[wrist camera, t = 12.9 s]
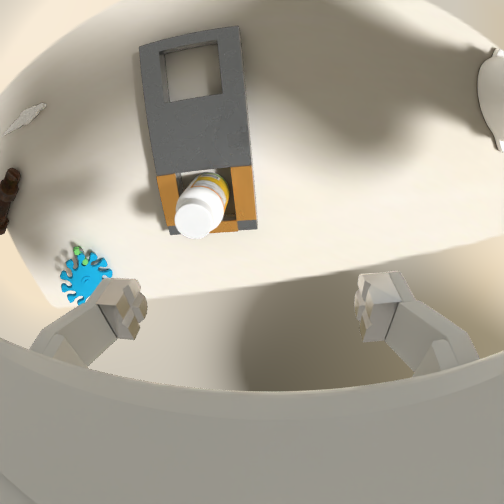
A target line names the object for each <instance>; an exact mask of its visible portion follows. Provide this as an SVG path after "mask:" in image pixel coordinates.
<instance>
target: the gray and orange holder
mask: <svg viewBox="0 0 504 504" xmlns="http://www.w3.org/2000/svg"><path fill="white" fill-rule="evenodd" d="M216 43H218V52H219V62H220V72H221V82H222V92H223V94H217V95H209V96H203V97H197V98H191V99H185V100H180V101H175V102H170V100H169V92H168V84H167V74H166V65H165V54H166V53H170V52H174V51H178V50H183V49H188V48H193V47H198V46H204V45H209V44H216ZM139 52H140V63H141V74H142V83H143V91H144V99H145V107H146V114H147V121H148V128H149V134H150V140H151V146H152V152H153V157H154V163H155V168H156V173H157V177H156V178H157V183H158V188H159V192H160V197H161V202H162V206H163V211H164V215H165V219H166V223H167V226H168V228H169V232H170V235H177V234H181V233H180V232H179V231H178V230H177V228H176V225H175V214H176V204H177V201H178V199H179V197H180V196H181V194H182V193H183V192H184V191H183V185H182V180H181V174H180V173H182V172H190V171H198V170H207V169H216V168H226V167H231V176H232V185H233V194H234V202H235V210H236V214H227V215H223V218H222V220H221V222H220V224H219V225H218V226H217V227H216V228H215V229H214V230H212V231H210V232H209V233H220V232H235V231H238V230H251V229H257V226H258V221H257V209H256V197H255V186H254V174H253V163H252V152H251V141H250V130H249V119H248V108H247V98H246V87H245V77H244V66H243V56H242V46H241V37H240V29H239V26H233V27H225V28H218V29H211V30H205V31H200V32H195V33H190V34H185V35H180V36H176V37H172V38H168V39H164V40H160V41H157V42H153V43H150V44H146V45H143V46H140V47H139Z"/></svg>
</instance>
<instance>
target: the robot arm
mask: <svg viewBox="0 0 504 504" xmlns="http://www.w3.org/2000/svg"><path fill="white" fill-rule="evenodd" d="M478 97H479V103H480V107H481V111H482V114H483V116H484V119H485V121H486V123H487V125H488V127H489V128H490V130H491V131H492V133H493V135H494V137H495V141H496V144H497V147H498V150H499V151H500V152H504V51H503V50H501V49H495V51H494V53H493V55H492V57H491V58H489V59H487V60H486V61H485V62H484V63H483V64H482V66H481V68H480V70H479V74H478ZM358 287H359V290H358V291H357V292H356V294H355V300H354V309H355V315H356V318H357V319H358V320H359V321H360V325H359V330H360V334H361V338H362V342H371V341H383V340H385V342H386V343H387V344H388V345H389V346H390V347H391V348H392V349H393V350H394V352H396V354H397V355H398V356H400V358H401V359H402V360H403V361H404V362H405V363H406V364H407V365H408V366H409V367H410V368H411V369H412V370H413V371H414V372H415V373H414V374H413V376H412V377H411V378H407V379H402V380H396V381H391V382H385V383H378V384H372V385H364V386H356V387H347V388H337V389H326V390H312V391H285V392H254V391H253V392H251V391H228V390H227V391H226V390H213V389H201V388H192V387H183V386H175V385H167V384H161V383H154V382H148V381H142V380H136V379H132V378H127V377H122V376H117V375H113V374H108V373H104V372H100V371H96V370H92V369H89V368H88V366H89V365H90V364H91V363H92V362H93V361H94V360H95V359H96V358H97V357H99V356H100V355H101V354H102V353H103V352H104V351H105V350H106V349H107V348H108V347H109V346H110V345H112V344H113V343H114V342H115V341H116V340H117V338H120V339H130V340H135V338H136V335H137V333H138V331H139V329H140V325H139V323H140V322H141V321H142V320H144V319H145V317H146V314H147V301H146V298H145V296H144V295H143V294H142V293H141V292H140V289H141V286H140V284H139V282H138V280H136V279H125V278H105V279H102V281H101V282H100V283H99V285H98V286H97V287H96V289H95V290H94V292H93V293H92V294H91V296H90V297H89V299H88V300H87V301H86V303H82V304H80V305H79V306H77V307H76V308H74V309H73V310H71V311H69V312H68V313H66V314H65V315H63V316H62V317H60V318H59V319H57V320H56V321H54V322H53V323H51V324H50V325H48V326H47V327H45V328H44V329H42V331H41V332H40V333H39V335H38V336H37V338H36V339H35V341H34V343H33V344H32V346H31V347H30V349H26V348H24V347H21V346H19V345H16V344H14V343H11V342H9V341H7V340H4V339H2V338H0V504H504V351H501V352H499V353H496V354H493V355H491V356H488V357H485V358H482V359H480V358H479V356H478V354H477V352H476V349H475V347H474V345H473V343H472V341H471V339H470V337H469V335H468V334H467V332H465V331H464V330H463V329H461V328H460V327H458V326H457V325H455V324H454V323H453V322H451V321H450V320H448V319H447V318H445V317H444V316H442V315H441V314H439V313H438V312H436V311H435V310H434V309H432V308H431V307H429V306H428V305H426V304H425V303H423V302H422V301H420V300H417V301H416V299H415V297H414V296H413V294H412V292H411V290H410V288H409V286H408V284H407V283H406V281H405V279H404V277H403V275H402V274H401V272H400V271H391V272H385V273H370V274H360V275H359V278H358Z"/></svg>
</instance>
